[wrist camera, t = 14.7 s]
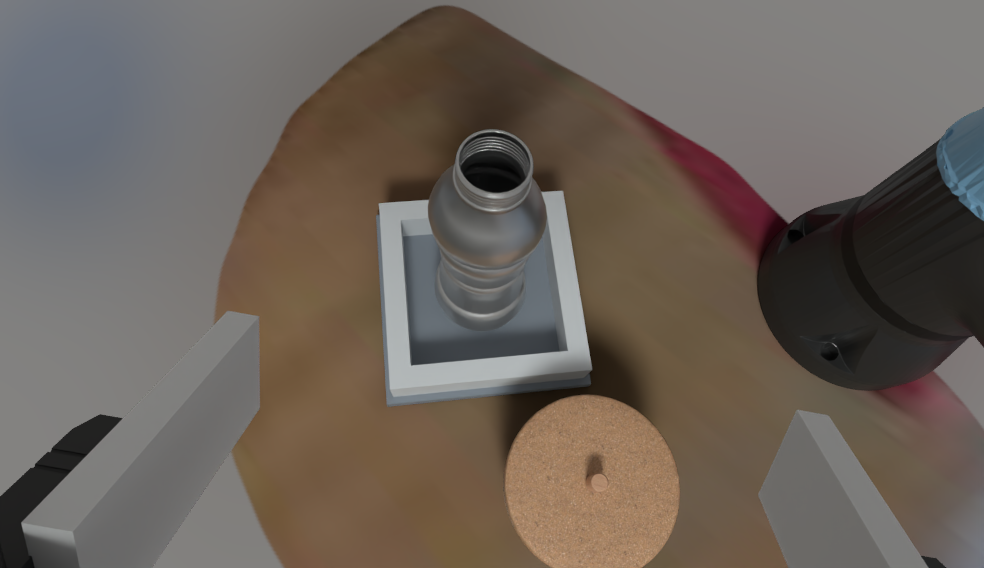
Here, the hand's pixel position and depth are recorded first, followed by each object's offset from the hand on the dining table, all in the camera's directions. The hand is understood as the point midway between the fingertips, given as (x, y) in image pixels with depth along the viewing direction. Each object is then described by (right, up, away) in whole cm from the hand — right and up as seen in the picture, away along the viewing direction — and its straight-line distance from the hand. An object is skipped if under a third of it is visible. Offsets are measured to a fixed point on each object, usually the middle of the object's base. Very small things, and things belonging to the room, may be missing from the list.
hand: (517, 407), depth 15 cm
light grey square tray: (-2, +2, +34) cm, 34 cm away
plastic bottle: (-2, +2, +33) cm, 33 cm away
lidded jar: (+5, -12, +30) cm, 32 cm away
